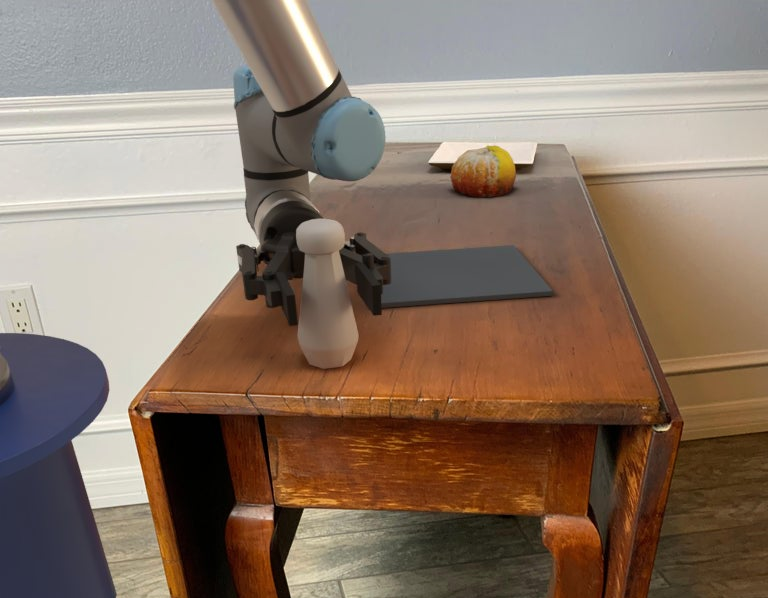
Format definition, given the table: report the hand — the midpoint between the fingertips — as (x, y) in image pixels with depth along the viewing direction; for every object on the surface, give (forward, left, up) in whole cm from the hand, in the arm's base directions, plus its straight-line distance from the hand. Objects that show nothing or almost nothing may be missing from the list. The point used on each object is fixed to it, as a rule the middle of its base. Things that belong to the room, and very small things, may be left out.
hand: (335, 305), depth 69 cm
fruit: (+28, +69, -7) cm, 75 cm away
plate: (+33, +90, -7) cm, 96 cm away
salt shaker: (-1, +5, -7) cm, 9 cm away
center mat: (+15, +27, -7) cm, 32 cm away
